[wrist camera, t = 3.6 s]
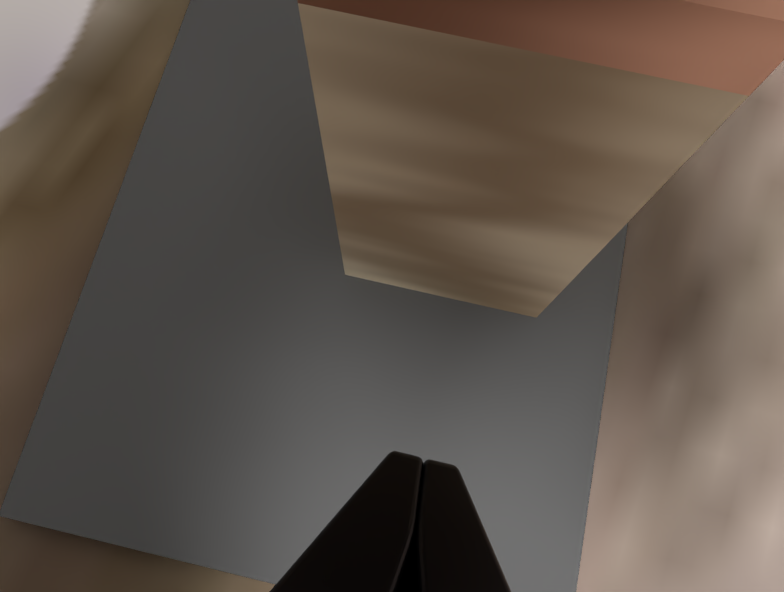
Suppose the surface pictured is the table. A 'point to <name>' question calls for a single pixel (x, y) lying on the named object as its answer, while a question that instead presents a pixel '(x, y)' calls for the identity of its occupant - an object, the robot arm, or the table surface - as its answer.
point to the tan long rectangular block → (516, 128)
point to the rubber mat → (293, 347)
